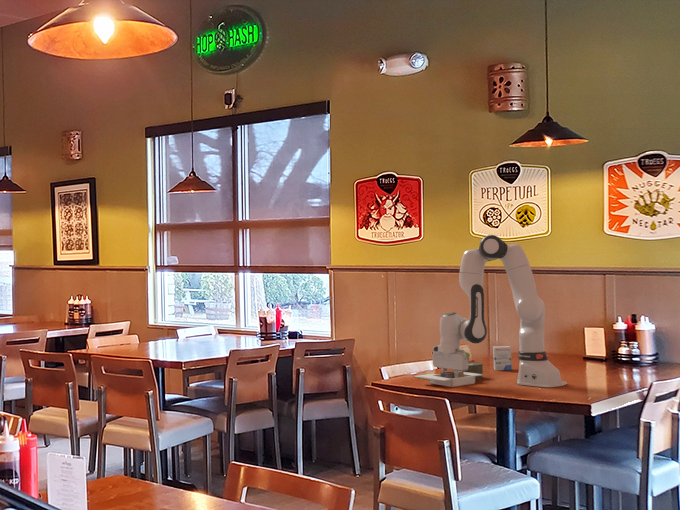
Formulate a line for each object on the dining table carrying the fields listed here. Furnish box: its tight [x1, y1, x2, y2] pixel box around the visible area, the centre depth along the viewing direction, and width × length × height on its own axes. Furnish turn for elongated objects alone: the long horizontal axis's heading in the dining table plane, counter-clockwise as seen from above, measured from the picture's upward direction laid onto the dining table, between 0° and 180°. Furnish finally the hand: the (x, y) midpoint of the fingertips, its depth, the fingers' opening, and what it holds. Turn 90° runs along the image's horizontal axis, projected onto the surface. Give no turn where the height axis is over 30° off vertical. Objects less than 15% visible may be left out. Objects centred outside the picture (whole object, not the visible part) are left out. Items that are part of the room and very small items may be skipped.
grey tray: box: [420, 372, 484, 388], centre depth 368 cm, size 15×25×4 cm, turn 125°
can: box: [459, 361, 484, 380], centre depth 384 cm, size 12×12×7 cm
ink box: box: [492, 345, 513, 371], centre depth 408 cm, size 9×5×12 cm, turn 84°
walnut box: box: [439, 370, 464, 379], centre depth 368 cm, size 5×10×5 cm, turn 126°
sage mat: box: [413, 373, 437, 381], centre depth 388 cm, size 12×12×1 cm
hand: (450, 378), depth 368 cm, fingers closed on walnut box, 4 cm apart
